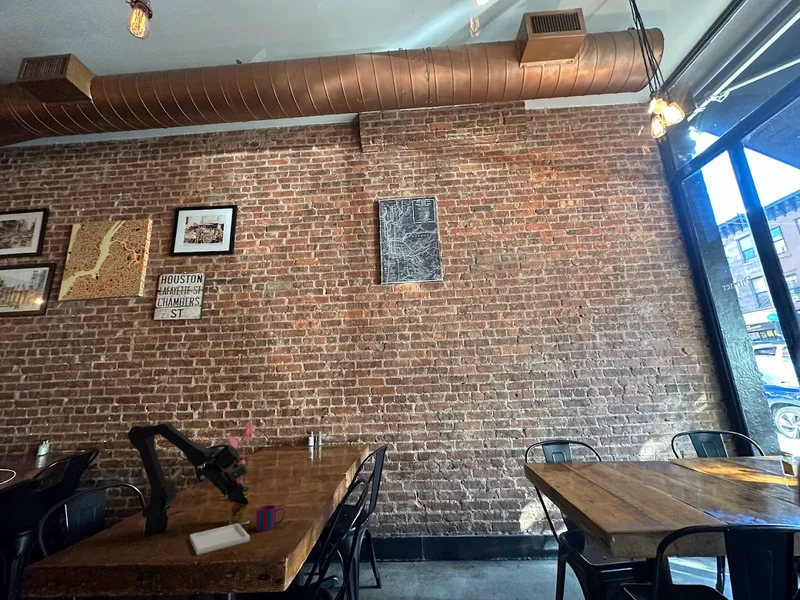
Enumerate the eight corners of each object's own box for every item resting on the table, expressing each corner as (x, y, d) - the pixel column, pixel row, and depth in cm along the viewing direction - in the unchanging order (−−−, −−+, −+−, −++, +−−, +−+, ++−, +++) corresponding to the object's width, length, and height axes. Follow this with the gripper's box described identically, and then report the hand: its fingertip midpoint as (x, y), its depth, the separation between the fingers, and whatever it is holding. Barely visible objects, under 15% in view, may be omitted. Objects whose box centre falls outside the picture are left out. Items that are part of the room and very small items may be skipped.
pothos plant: (217, 504, 159) (226, 422, 168) (238, 489, 184) (245, 417, 192) (252, 504, 160) (260, 422, 168) (269, 488, 185) (274, 417, 193)
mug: (258, 525, 134) (259, 505, 135) (285, 523, 135) (286, 503, 136) (253, 532, 127) (254, 511, 129) (282, 530, 128) (283, 509, 130)
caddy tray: (196, 555, 110) (197, 549, 111) (189, 539, 123) (190, 534, 123) (249, 541, 120) (250, 536, 120) (238, 527, 132) (238, 523, 132)
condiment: (227, 526, 133) (230, 491, 136) (230, 519, 141) (233, 485, 144) (249, 523, 135) (251, 489, 138) (250, 516, 143) (252, 483, 146)
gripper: (240, 461, 134) (268, 487, 138) (229, 455, 148) (254, 479, 152) (215, 488, 127) (245, 515, 131) (206, 479, 142) (233, 503, 146)
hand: (245, 501), depth 140 cm, fingers closed on condiment, 6 cm apart
